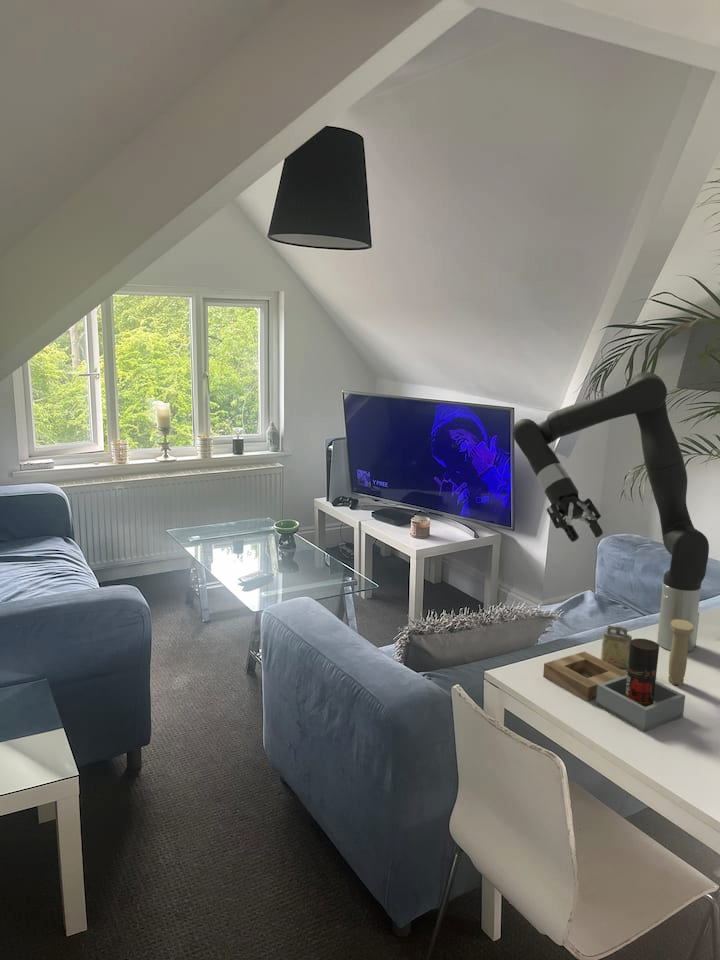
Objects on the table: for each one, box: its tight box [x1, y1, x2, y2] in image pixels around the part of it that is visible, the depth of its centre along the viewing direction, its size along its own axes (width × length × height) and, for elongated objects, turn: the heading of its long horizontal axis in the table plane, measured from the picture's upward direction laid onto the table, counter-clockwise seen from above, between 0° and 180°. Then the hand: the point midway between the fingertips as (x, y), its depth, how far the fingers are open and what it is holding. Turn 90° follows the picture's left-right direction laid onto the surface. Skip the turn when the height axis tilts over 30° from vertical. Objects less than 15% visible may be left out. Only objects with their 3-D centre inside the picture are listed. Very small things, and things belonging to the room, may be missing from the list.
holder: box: [542, 651, 627, 702], centre depth 173 cm, size 14×14×4 cm
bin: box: [595, 675, 686, 733], centre depth 160 cm, size 13×13×5 cm
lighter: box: [600, 625, 633, 669], centre depth 182 cm, size 7×4×10 cm, turn 67°
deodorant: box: [625, 638, 660, 707], centre depth 159 cm, size 6×6×15 cm
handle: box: [668, 619, 693, 686], centre depth 172 cm, size 5×6×15 cm
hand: (588, 537), depth 179 cm, fingers open, 8 cm apart
